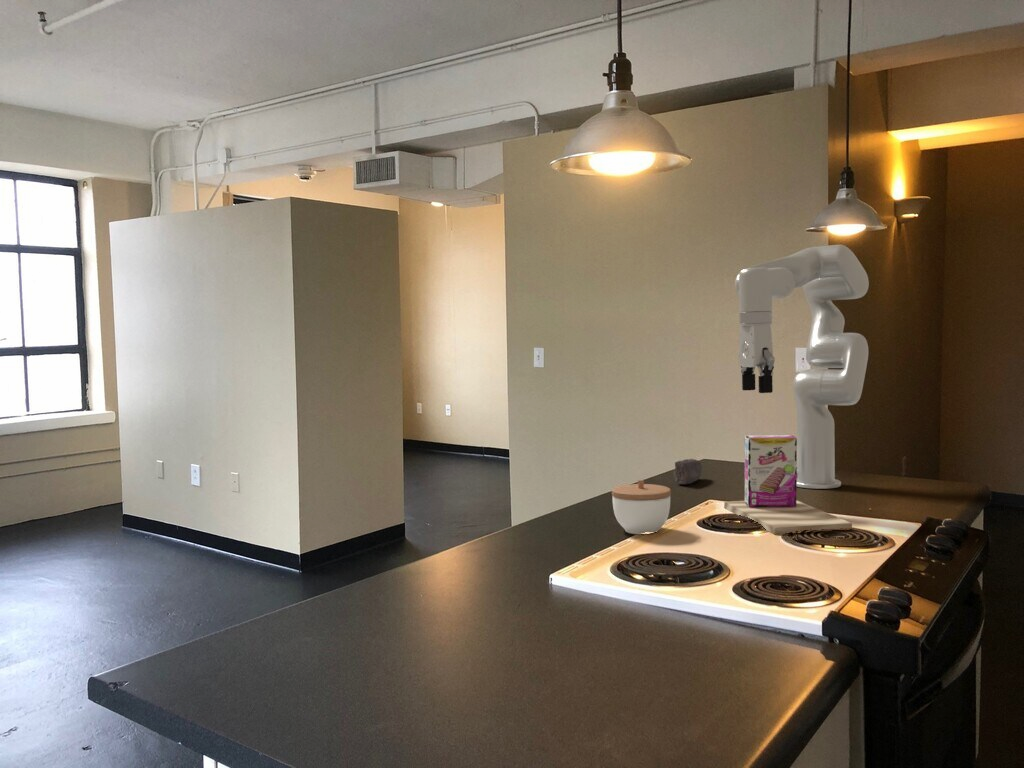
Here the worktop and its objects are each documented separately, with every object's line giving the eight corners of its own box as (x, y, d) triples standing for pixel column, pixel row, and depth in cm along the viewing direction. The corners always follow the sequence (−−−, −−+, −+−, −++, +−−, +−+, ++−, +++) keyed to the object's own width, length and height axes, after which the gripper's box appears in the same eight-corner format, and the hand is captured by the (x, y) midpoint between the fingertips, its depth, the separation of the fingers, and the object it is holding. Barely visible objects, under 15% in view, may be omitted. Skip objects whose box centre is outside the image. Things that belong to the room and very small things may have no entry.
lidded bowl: (680, 535, 174) (679, 483, 173) (622, 539, 171) (621, 486, 171) (659, 522, 186) (658, 474, 185) (605, 526, 184) (604, 477, 183)
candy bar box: (748, 507, 192) (747, 437, 191) (744, 503, 197) (743, 435, 196) (798, 507, 191) (797, 436, 190) (792, 502, 196) (791, 434, 195)
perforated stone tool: (692, 478, 243) (692, 454, 242) (709, 479, 239) (708, 455, 239) (669, 486, 231) (668, 461, 230) (686, 487, 228) (686, 462, 227)
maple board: (724, 507, 200) (724, 501, 199) (791, 504, 201) (791, 498, 201) (774, 534, 172) (774, 527, 172) (851, 530, 174) (851, 523, 174)
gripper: (726, 321, 206) (728, 389, 207) (756, 319, 189) (757, 394, 190) (755, 320, 207) (756, 388, 208) (787, 318, 190) (788, 393, 191)
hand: (757, 391), depth 199 cm, fingers open, 9 cm apart
